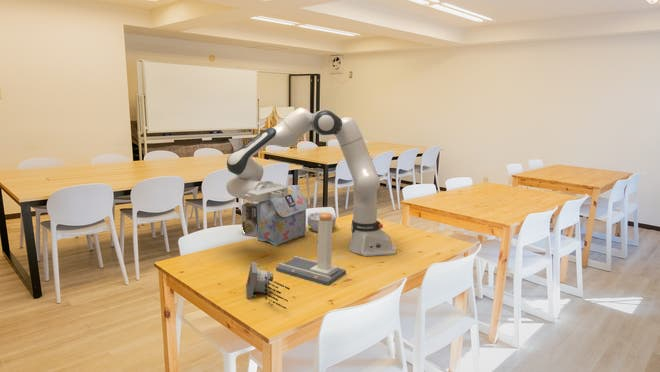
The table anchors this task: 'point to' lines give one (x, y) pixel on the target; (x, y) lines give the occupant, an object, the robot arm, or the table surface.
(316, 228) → the paper bowls
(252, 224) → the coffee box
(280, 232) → the lunch bag
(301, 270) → the slider track
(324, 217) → the slider handle
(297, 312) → the table surface
